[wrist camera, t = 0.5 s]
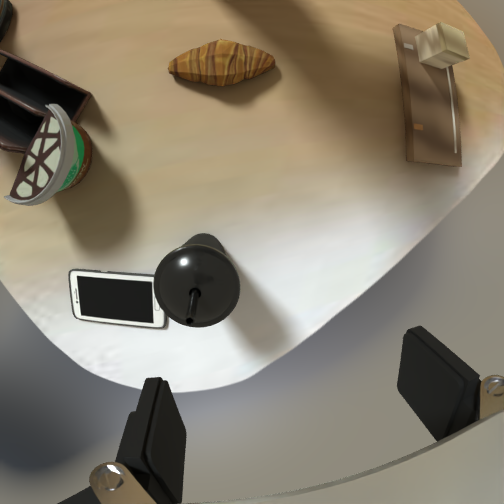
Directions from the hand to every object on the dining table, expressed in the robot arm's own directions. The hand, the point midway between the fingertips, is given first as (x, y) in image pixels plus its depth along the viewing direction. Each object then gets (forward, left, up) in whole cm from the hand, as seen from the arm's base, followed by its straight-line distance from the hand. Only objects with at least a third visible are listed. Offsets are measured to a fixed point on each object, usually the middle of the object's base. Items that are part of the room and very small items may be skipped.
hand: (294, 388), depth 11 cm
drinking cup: (+2, -5, -30) cm, 31 cm away
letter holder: (-22, -30, -30) cm, 48 cm away
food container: (-11, -22, -30) cm, 39 cm away
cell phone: (+8, -18, -31) cm, 36 cm away
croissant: (-22, -2, -30) cm, 38 cm away
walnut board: (-21, +29, -30) cm, 47 cm away
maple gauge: (-28, +29, -28) cm, 49 cm away
